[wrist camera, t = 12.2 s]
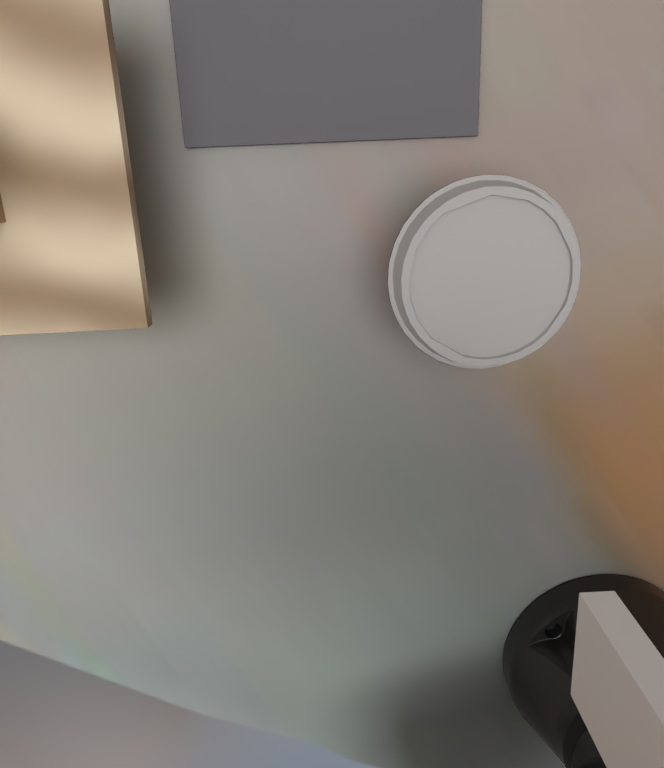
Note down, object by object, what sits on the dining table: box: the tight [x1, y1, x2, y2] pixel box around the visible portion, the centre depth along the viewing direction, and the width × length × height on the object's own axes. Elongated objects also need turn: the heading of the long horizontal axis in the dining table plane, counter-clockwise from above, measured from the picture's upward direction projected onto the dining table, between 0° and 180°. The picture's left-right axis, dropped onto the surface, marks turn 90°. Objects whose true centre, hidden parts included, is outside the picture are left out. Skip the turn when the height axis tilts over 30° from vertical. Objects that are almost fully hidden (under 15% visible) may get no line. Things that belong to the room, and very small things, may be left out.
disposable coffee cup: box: [388, 175, 581, 369], centre depth 35 cm, size 10×10×12 cm
